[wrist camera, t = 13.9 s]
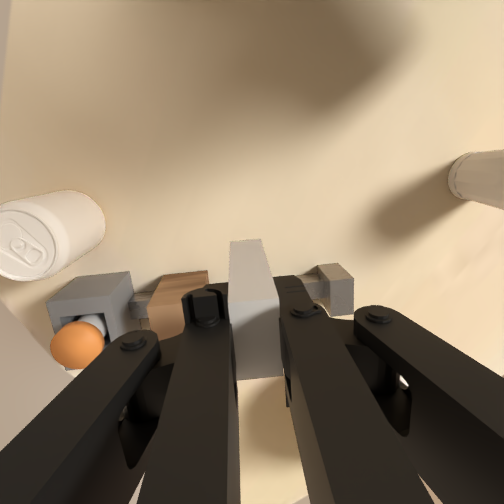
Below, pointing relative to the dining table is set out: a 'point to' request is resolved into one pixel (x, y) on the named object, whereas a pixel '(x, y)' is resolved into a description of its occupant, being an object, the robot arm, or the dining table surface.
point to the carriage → (172, 302)
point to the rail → (317, 285)
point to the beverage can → (47, 233)
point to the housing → (95, 303)
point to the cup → (479, 178)
